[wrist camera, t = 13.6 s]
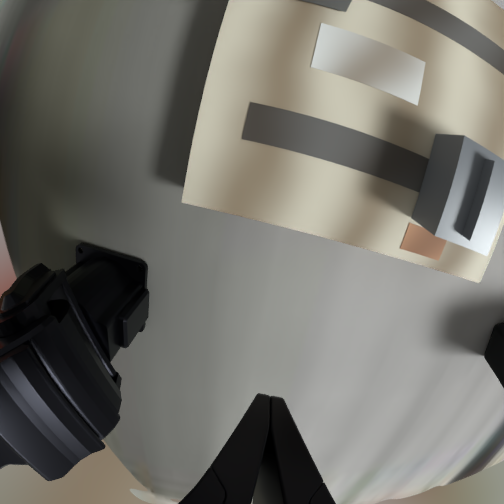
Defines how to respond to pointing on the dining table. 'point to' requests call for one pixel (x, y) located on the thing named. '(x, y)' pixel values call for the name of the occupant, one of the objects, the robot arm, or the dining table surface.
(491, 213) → the switch tab
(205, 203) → the switch board
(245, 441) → the robot arm
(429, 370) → the dining table surface
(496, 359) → the battery
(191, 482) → the dining table surface
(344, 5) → the switch tab
